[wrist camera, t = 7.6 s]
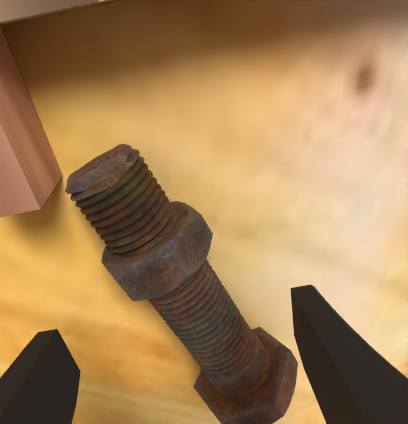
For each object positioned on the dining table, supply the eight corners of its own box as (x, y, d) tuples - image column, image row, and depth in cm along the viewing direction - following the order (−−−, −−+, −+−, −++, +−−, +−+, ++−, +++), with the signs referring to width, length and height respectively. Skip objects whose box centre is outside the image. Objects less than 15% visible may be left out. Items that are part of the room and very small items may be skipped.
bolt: (126, 126, 17) (253, 329, 24) (31, 189, 16) (194, 386, 22) (178, 126, 12) (320, 383, 19) (48, 217, 11) (250, 460, 17)
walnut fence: (758, -255, 11) (951, -340, 8) (632, 65, 15) (729, 80, 13) (-103, -67, 12) (-187, -87, 9) (18, 184, 16) (-14, 220, 14)
